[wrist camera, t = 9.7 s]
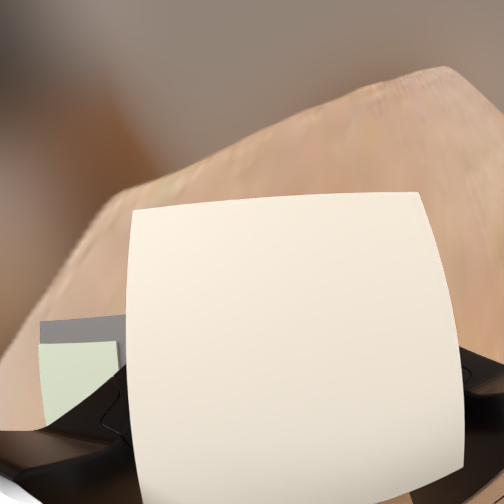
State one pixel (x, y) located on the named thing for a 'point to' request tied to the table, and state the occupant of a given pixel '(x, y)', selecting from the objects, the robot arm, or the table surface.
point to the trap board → (78, 359)
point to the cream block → (291, 351)
